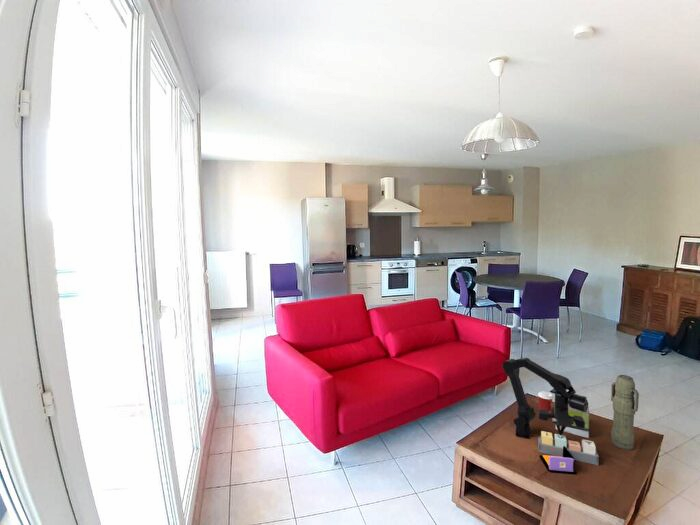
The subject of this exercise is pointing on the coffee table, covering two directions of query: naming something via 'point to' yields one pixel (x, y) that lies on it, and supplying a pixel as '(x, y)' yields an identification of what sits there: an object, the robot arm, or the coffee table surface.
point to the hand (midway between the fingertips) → (560, 434)
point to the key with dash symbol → (574, 446)
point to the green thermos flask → (624, 411)
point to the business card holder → (559, 463)
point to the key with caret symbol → (560, 440)
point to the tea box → (573, 427)
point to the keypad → (576, 455)
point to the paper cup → (545, 401)
